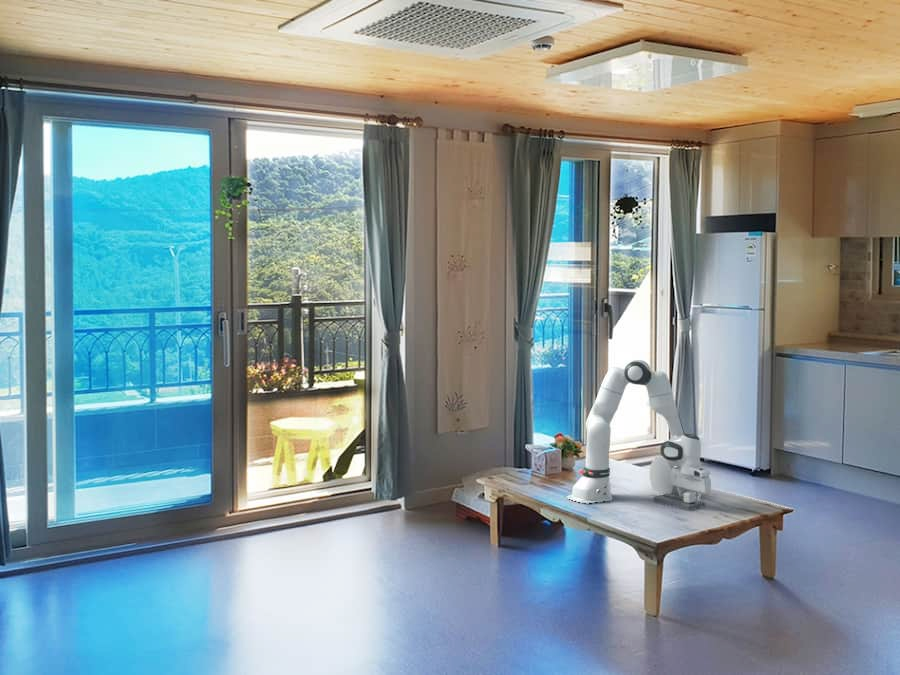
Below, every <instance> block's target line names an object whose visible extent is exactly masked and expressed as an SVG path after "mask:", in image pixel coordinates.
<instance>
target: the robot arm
mask: <svg viewBox="0 0 900 675" xmlns="http://www.w3.org/2000/svg"><path fill="white" fill-rule="evenodd" d="M629 384H633V385H636V386H637V385H639V386H645V388H646V391H647V396H648V399H649V402H650V407H651V408H652V410H653V411H654V412H655V413H657V414H659V415H660V416H662V417H664V419H665V420H666V423H667V427H668V429H669V433H670V439H668V440H665V441H663V443H661V445H660V449H659V450H660V454H662V456H663V457H664V458H665V459H666V460H680V461H681V467H677V466H674V467H672V473H671V478H670V483H671V485H672V486H676V487H677V490H678V492H679V497H684V493H685V492H684V493H683V492H682V490H681V489H682V488H684V489H685V490H688V491H692V492H696V493H697V496H696V501H702V500H701V499H702V496H703V495H705V494H709V493H710V492H711V490H712V482H711V477H710V475H711V471H710V470H708V469H706V467H704V466H702V464H701V455H702V445H701V439H700V437H699V436H697V435H696V434H693V433H685V430H684V427H683V424H682V420H681V417H680V414H679V410H678V408H677V405H676V402H675V396H674V394H673V389H672V384H671V382H670V380H669V377H668V375H667V374H666V372H664V371H660V370H655V371H653V370H651V368H650V365H649V364H648V362H646V361H644V360H642V359H635V360H632V361H630V362H629V363H627V364H626V366H625V367H624V368H623V367H616V366H615V367H611V368H609V369H608V370H607V372H606V374H605V376H604V378H603V380H602V381H601V385H600V387H599V390H598V392H597V395H596V397H595V401H594V403H593V405H592V407H591V409H590V412H589V414H588V416H587V419H586V421H585V431H586V445H585V447H586V448H585V466H584V468H583V469H582V468H579V470H578V473H579V474H582V476H581V477H580V478H579V479H578V480H577V481H576V483H574V484H573V485H572V489H571V490H572V491H571V494H568V495H567V496H566V499H567V498H568V499H567V500H569V499H570V500H569V501H571V500H573V501H572V502H574V501H576V502H575V503H578V502H580V503H579V504H583V503H586V505H590V504H589V503H592V504H596V503H595V502H598V503H603V501H605V502H609V501H613V496H612V491H611V488H612V487H611V481H610V475H611V471H610V470H611V468H610V447H611V433H612V431H611V426H610V425H611V422H612V420H613V419H614V416H615V414H616V412H617V411H618V408H619V406H620V403H621V400H622V398H623V395H624V392H625V389H626V387H627V385H629Z"/></svg>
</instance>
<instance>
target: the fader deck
mask: <svg viewBox="0 0 900 675" xmlns="http://www.w3.org/2000/svg"><path fill="white" fill-rule="evenodd" d="M652 498H653V500H652V501H653V502H655V503H658V502H659V504H662V505H666V504H667V505H666V506H669V505H671V506H670V507H673V506H676V507H675V508H677V507H679V508H678V509H680V508H683V509H682V510H684V509H687V510H686V511H688V510H690V511H692V510H691V509H693V510H695V509H694V508H697V509H699V508H698V507H700V508H702V507H701V506H703V507H705V505H706V503H705V502H706V501H703V500H701V501H694V502H691V503H688V502H684V497H679V495H676V494H669V493H667V494H663V495H662V494H659V495H657V496H655V495H654V496H652Z"/></svg>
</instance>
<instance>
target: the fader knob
mask: <svg viewBox="0 0 900 675" xmlns="http://www.w3.org/2000/svg"><path fill="white" fill-rule="evenodd" d="M696 497H697V492H696V491H692V490H688V491H687V492H686V491H685V492H684V502H688V503H691V502H694V501H696Z"/></svg>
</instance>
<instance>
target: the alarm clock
mask: <svg viewBox="0 0 900 675" xmlns="http://www.w3.org/2000/svg"><path fill="white" fill-rule="evenodd" d="M674 466H677V467H681V461H680V460H666V459H665V458H664V457H663V456H662V454H661V453H660V454H659V455H658V456H655V457H654V458H653V460H652V462H651V463H650V467H649V479H650V480H649V481H650V486H651V488H652V490H653V491H654V492H656V491H657V492H656V493H658V492H659V493H658V494H660V493H661V494H660V495H662V494H667V493H669V494H676V495H679V492H678V490H677V487H676V486H672V485H671V483H670V478H671V473H672V467H674ZM681 490H682V492H683V493H685V492H686V489H684V488H682V489H681Z"/></svg>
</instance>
